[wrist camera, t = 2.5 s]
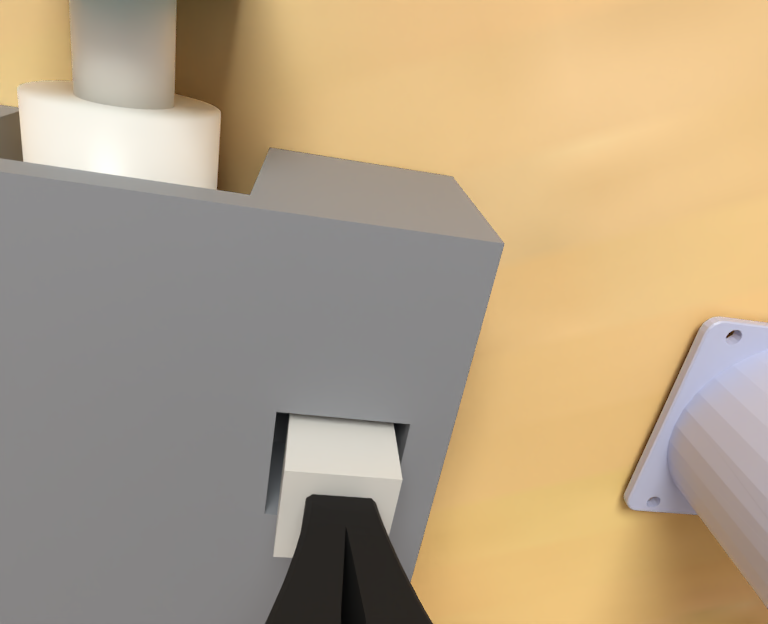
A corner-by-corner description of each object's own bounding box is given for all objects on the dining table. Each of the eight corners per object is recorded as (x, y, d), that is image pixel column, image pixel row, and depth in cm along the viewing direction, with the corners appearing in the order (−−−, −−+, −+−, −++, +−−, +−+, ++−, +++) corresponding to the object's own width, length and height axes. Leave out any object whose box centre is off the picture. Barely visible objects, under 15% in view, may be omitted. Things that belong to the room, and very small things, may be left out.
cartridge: (246, -111, 13) (205, -175, 9) (210, 448, 20) (177, 575, 15) (50, -154, 12) (-103, -248, 8) (82, 437, 19) (8, 567, 15)
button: (391, 407, 14) (402, 479, 12) (374, 483, 15) (382, 562, 13) (291, 398, 14) (284, 470, 12) (281, 476, 15) (273, 556, 13)
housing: (452, 176, 16) (504, 243, 12) (379, 502, 22) (393, 641, 17) (-41, 98, 15) (-221, 140, 10) (7, 476, 20) (-96, 625, 15)
